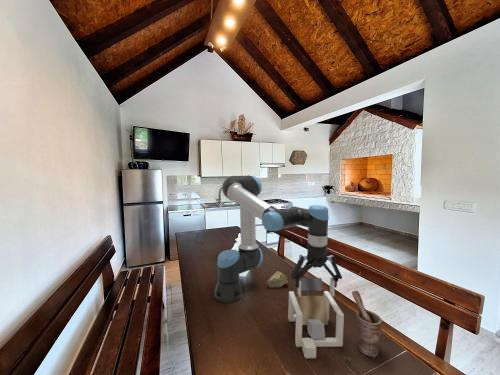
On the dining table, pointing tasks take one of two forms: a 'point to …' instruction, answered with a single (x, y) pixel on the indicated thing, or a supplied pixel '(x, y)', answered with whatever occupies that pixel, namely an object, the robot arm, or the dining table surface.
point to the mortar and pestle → (367, 328)
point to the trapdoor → (312, 301)
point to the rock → (277, 280)
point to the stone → (315, 329)
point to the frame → (339, 318)
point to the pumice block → (309, 348)
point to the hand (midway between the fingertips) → (315, 294)
